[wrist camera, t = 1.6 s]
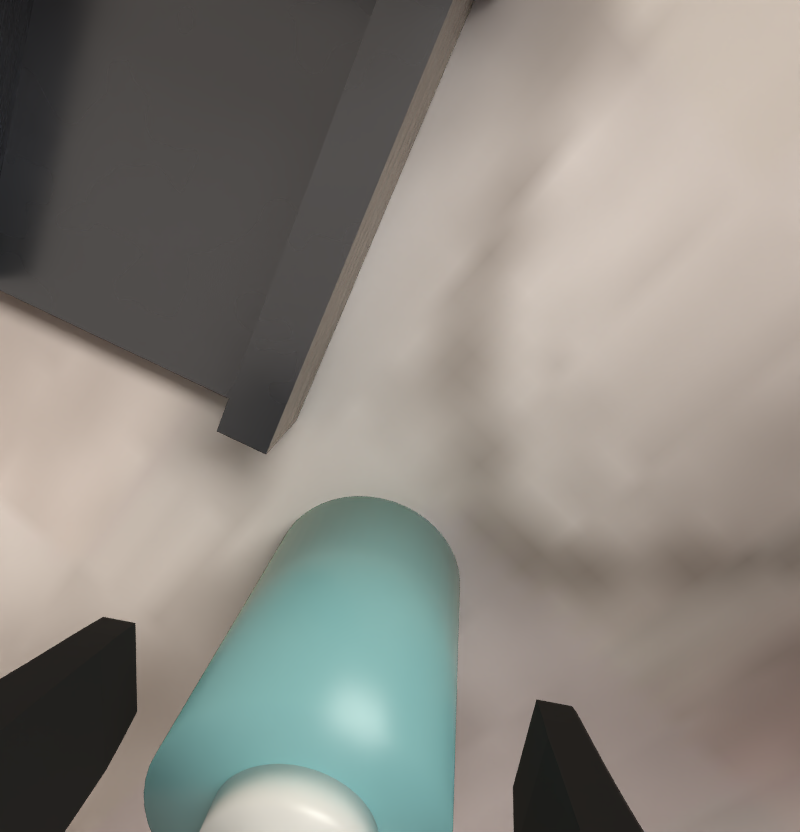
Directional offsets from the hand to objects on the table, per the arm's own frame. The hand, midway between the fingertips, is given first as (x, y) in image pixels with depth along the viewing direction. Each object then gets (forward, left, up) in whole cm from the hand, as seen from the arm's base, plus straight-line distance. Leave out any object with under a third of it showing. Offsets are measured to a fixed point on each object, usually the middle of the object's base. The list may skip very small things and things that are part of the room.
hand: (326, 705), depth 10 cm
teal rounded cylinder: (0, 0, -4) cm, 4 cm away
